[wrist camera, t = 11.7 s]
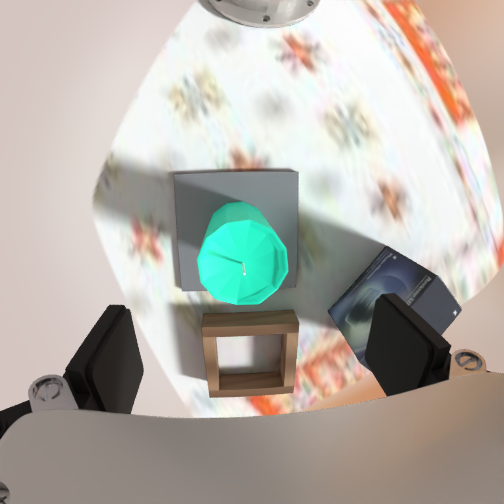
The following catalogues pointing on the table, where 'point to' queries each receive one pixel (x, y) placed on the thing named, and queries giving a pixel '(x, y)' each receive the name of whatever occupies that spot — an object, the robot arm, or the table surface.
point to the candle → (241, 256)
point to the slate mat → (228, 191)
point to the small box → (392, 281)
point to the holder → (251, 326)
